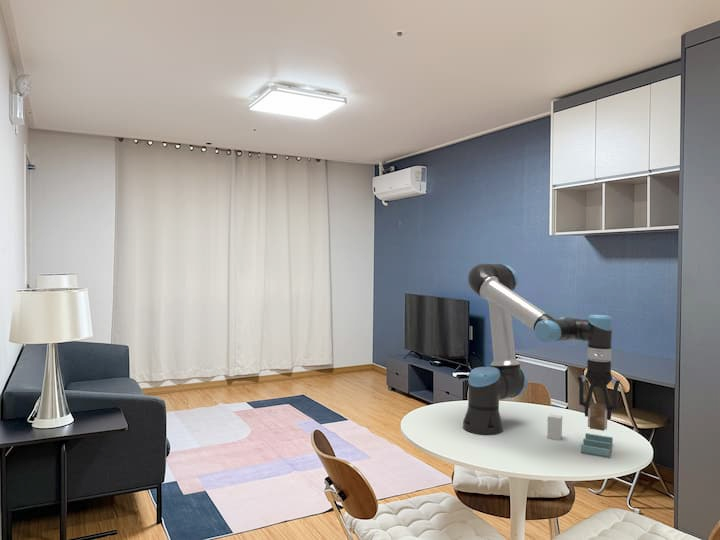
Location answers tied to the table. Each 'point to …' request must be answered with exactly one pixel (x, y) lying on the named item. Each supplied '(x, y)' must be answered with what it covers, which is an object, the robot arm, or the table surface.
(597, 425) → the walnut plug
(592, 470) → the table surface
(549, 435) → the white rectangular block
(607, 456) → the teal-ribbed grey panel
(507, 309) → the robot arm
